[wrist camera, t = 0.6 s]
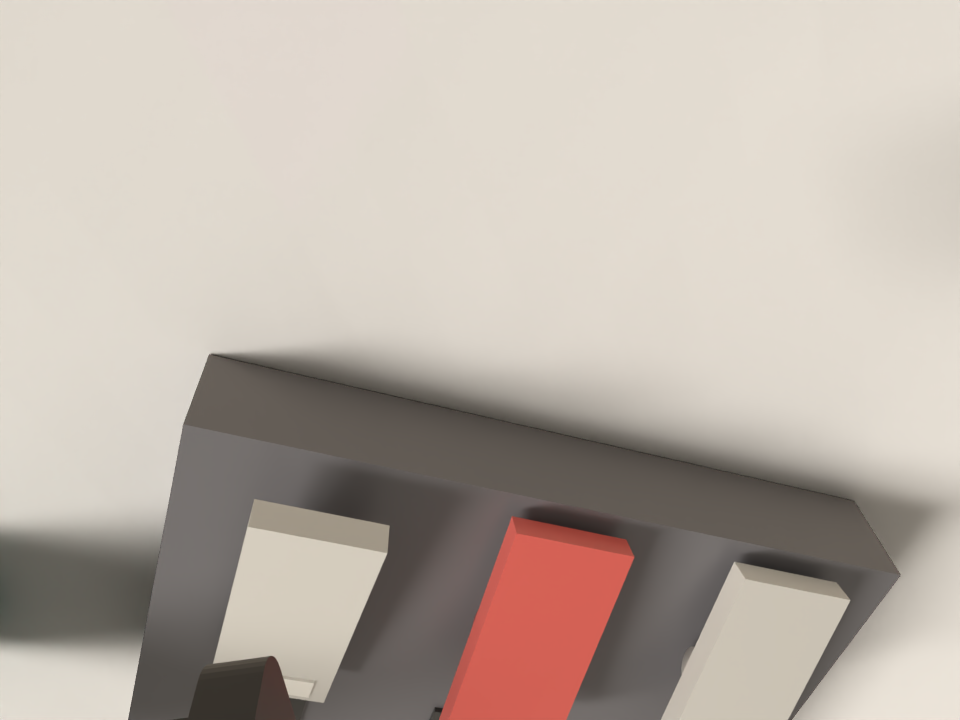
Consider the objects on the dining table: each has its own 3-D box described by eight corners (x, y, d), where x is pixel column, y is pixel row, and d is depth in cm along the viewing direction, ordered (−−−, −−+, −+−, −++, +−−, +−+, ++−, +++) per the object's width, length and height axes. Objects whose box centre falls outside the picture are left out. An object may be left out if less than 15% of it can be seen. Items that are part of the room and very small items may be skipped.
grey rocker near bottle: (258, 480, 26) (247, 529, 25) (391, 507, 27) (387, 556, 26) (218, 640, 32) (207, 688, 31) (329, 658, 33) (323, 705, 32)
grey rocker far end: (726, 549, 31) (746, 581, 30) (827, 570, 32) (852, 602, 31) (636, 746, 34) (650, 785, 33) (730, 761, 35) (748, 799, 33)
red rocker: (508, 505, 30) (517, 535, 28) (621, 528, 30) (635, 558, 29) (433, 715, 33) (437, 754, 31) (537, 731, 33) (546, 770, 32)
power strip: (209, 354, 30) (181, 428, 27) (854, 501, 36) (903, 579, 32) (150, 652, 38) (123, 741, 34) (693, 737, 43) (719, 822, 39)
